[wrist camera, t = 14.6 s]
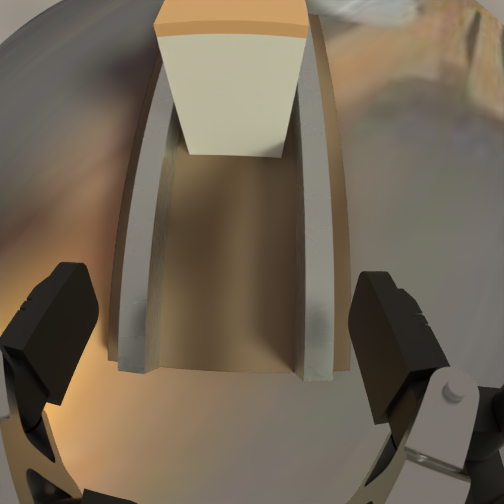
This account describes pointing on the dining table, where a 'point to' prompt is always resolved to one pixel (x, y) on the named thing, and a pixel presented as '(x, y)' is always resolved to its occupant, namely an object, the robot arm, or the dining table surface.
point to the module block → (233, 71)
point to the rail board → (235, 244)
